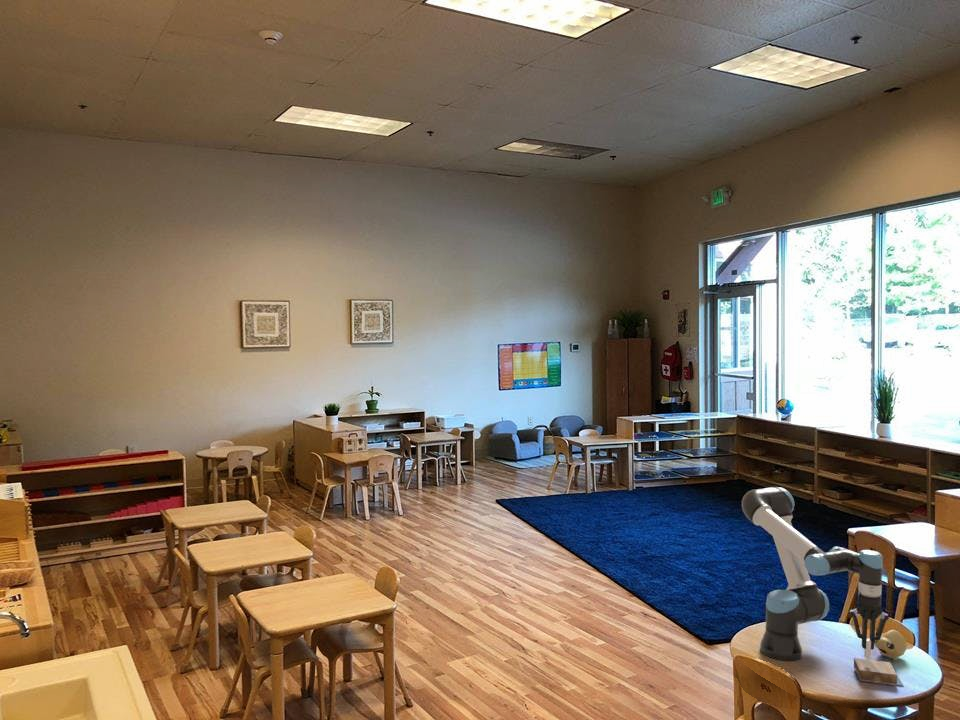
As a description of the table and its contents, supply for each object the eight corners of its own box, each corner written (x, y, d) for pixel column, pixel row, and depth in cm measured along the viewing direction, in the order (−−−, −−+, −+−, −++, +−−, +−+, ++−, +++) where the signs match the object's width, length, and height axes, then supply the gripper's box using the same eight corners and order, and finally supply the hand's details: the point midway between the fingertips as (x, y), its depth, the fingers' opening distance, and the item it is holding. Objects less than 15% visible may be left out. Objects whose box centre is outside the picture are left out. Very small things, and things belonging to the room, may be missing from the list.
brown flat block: (859, 670, 263) (897, 674, 259) (854, 657, 272) (889, 662, 269) (859, 680, 263) (896, 685, 259) (853, 668, 272) (889, 672, 269)
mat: (863, 681, 263) (863, 680, 263) (856, 667, 274) (856, 666, 274) (903, 686, 260) (903, 685, 260) (895, 672, 270) (895, 671, 270)
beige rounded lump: (867, 656, 284) (868, 629, 283) (885, 649, 290) (886, 623, 289) (893, 666, 275) (894, 638, 275) (910, 659, 281) (911, 632, 281)
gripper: (852, 595, 263) (849, 659, 264) (892, 599, 260) (889, 664, 261) (847, 588, 270) (845, 650, 272) (887, 592, 267) (884, 655, 268)
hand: (867, 657), depth 266 cm, fingers closed
